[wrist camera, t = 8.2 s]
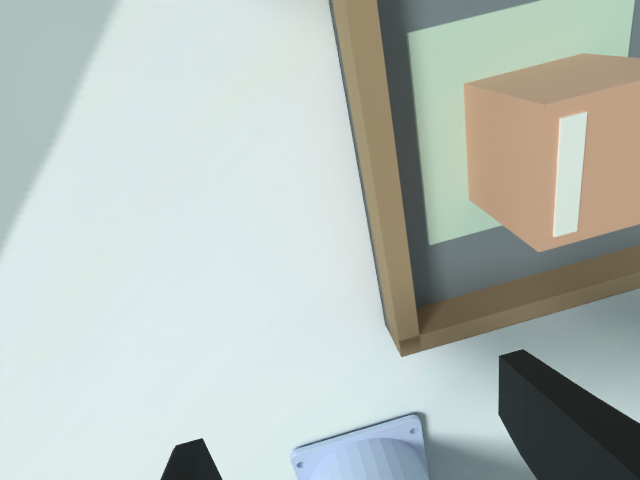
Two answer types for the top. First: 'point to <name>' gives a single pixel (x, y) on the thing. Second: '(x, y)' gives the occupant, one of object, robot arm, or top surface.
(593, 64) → the cube
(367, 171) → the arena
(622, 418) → the robot arm
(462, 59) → the pad
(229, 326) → the top surface
